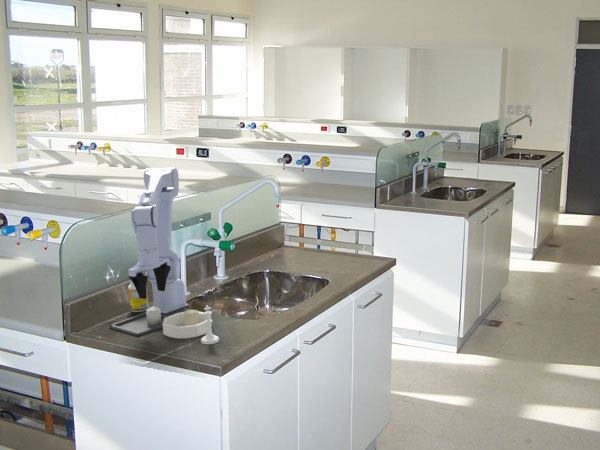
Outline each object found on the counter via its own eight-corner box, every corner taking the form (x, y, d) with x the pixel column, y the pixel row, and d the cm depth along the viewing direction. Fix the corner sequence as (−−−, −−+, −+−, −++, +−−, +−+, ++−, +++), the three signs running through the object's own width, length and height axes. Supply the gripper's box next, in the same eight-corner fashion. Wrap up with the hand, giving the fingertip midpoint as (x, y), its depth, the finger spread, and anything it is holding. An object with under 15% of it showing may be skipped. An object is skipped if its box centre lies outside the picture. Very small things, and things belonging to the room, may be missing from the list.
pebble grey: (155, 321, 208) (154, 306, 208) (164, 323, 206) (163, 308, 205) (144, 325, 205) (143, 310, 205) (153, 327, 203) (152, 312, 202)
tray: (148, 315, 215) (148, 311, 215) (177, 322, 207) (176, 318, 207) (109, 329, 205) (109, 325, 204) (138, 337, 196) (138, 333, 196)
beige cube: (186, 325, 203) (184, 310, 202) (200, 324, 203) (198, 309, 202) (184, 330, 199) (183, 314, 198) (198, 329, 199) (197, 314, 198)
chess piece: (201, 338, 194) (198, 303, 192) (219, 337, 194) (216, 302, 192) (200, 345, 189) (197, 309, 187) (218, 343, 189) (216, 307, 187)
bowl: (189, 320, 209) (188, 308, 208) (220, 328, 201) (220, 316, 200) (154, 333, 199) (153, 321, 198) (186, 342, 191) (185, 330, 190)
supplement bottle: (133, 307, 223) (130, 276, 221) (151, 307, 223) (148, 275, 221) (128, 313, 218) (124, 281, 216) (145, 313, 217) (142, 280, 215)
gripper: (155, 241, 209) (159, 285, 212) (118, 252, 197) (123, 299, 200) (173, 243, 205) (177, 288, 208) (137, 255, 193) (142, 303, 196)
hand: (152, 294), depth 204 cm, fingers open, 7 cm apart
